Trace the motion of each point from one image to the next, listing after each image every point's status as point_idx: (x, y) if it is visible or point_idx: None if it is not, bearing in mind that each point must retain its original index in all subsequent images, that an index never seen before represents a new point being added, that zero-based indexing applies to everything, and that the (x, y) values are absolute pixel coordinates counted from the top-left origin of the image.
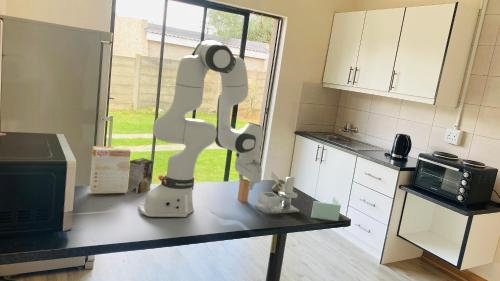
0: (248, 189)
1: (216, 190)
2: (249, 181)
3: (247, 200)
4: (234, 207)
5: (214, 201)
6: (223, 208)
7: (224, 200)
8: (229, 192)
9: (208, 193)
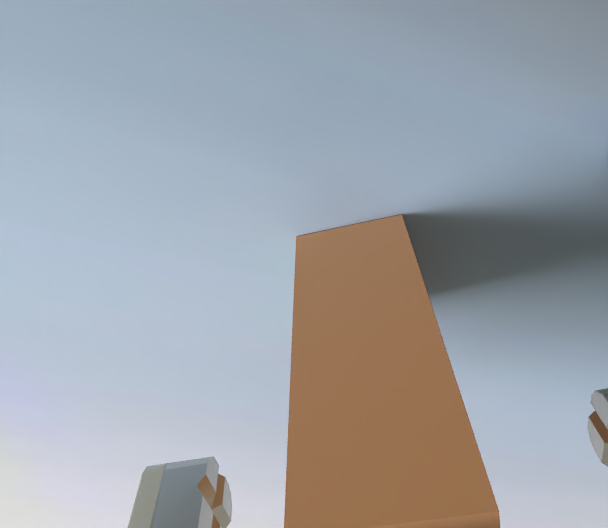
0: (445, 352)
1: (31, 447)
2: (498, 521)
3: (404, 224)
4: (584, 395)
5: None
6: (587, 476)
7: None
8: (43, 344)
9: None
